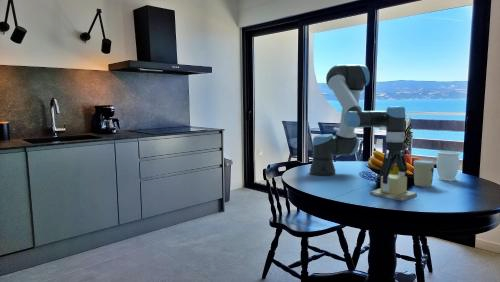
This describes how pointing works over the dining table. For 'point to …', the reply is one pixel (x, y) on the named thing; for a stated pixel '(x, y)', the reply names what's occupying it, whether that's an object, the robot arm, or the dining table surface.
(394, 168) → the glass of beer
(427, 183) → the coffee cup
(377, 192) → the blueprint board
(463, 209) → the dining table surface
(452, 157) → the jar
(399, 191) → the cream yellow block
